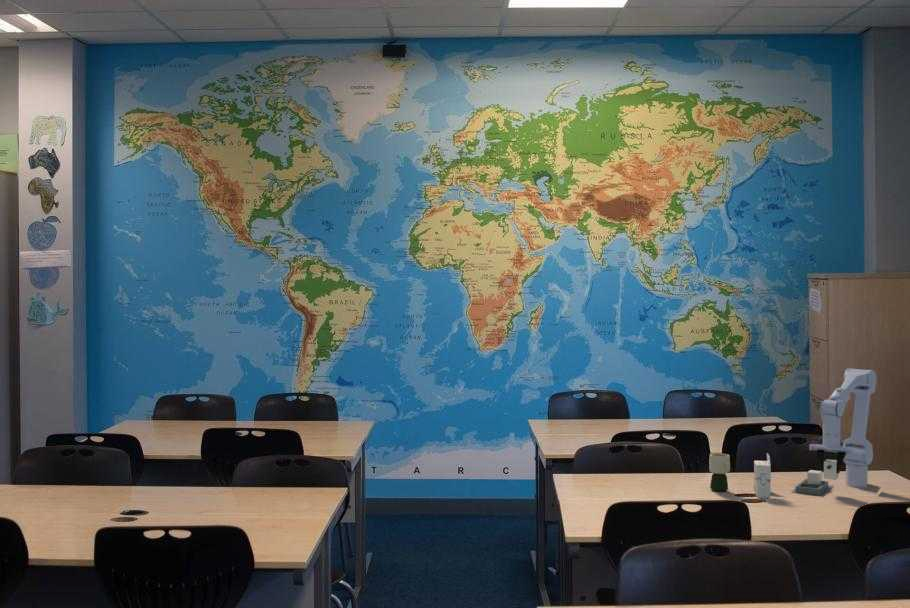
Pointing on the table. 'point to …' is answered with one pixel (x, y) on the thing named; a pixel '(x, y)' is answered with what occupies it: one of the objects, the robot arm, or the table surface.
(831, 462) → the plug
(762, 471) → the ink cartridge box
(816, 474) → the twin plug
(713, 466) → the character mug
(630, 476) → the table surface
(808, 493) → the grey rectangular tray
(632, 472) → the table surface
